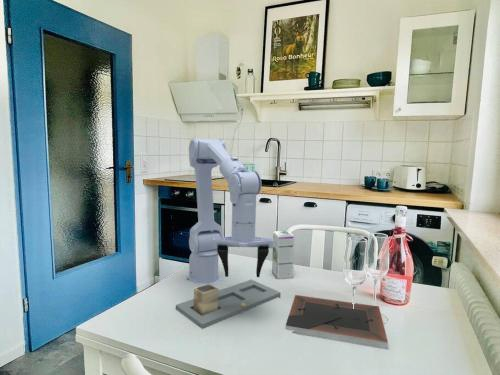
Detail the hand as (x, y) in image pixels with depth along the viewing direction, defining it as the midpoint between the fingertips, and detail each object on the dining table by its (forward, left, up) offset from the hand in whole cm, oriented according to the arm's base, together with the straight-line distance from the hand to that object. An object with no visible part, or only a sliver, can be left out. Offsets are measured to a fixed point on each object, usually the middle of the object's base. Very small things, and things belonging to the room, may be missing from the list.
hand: (242, 275), depth 80 cm
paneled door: (-6, +1, -10) cm, 12 cm away
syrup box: (-11, +27, -10) cm, 31 cm away
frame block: (-6, -7, -10) cm, 13 cm away
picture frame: (+17, +15, -11) cm, 25 cm away
